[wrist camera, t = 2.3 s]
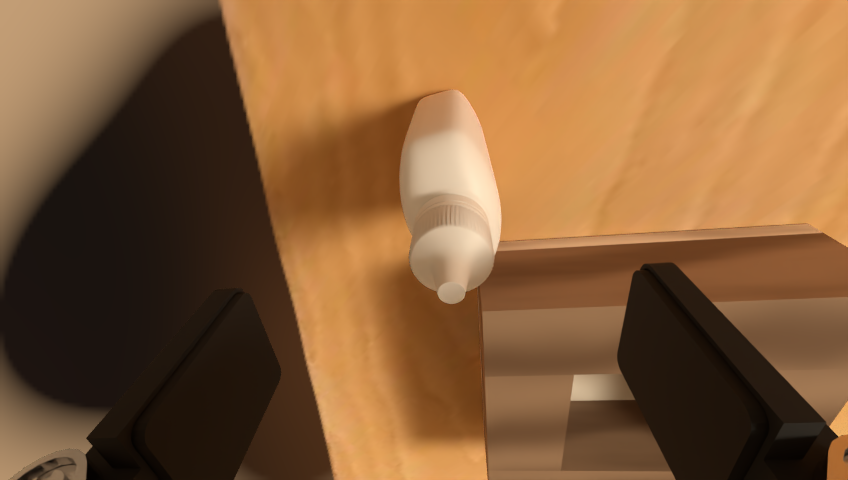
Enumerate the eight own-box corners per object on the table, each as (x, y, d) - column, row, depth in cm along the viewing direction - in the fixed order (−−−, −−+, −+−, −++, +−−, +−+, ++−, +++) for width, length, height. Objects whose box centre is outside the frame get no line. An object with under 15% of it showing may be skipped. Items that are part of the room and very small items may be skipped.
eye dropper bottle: (399, 184, 21) (350, 350, 11) (422, 78, 18) (385, 168, 8) (475, 203, 21) (497, 382, 11) (510, 101, 18) (583, 217, 8)
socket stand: (475, 243, 23) (482, 311, 18) (807, 223, 21) (925, 293, 16) (483, 425, 32) (489, 505, 27) (714, 423, 30) (768, 509, 25)
